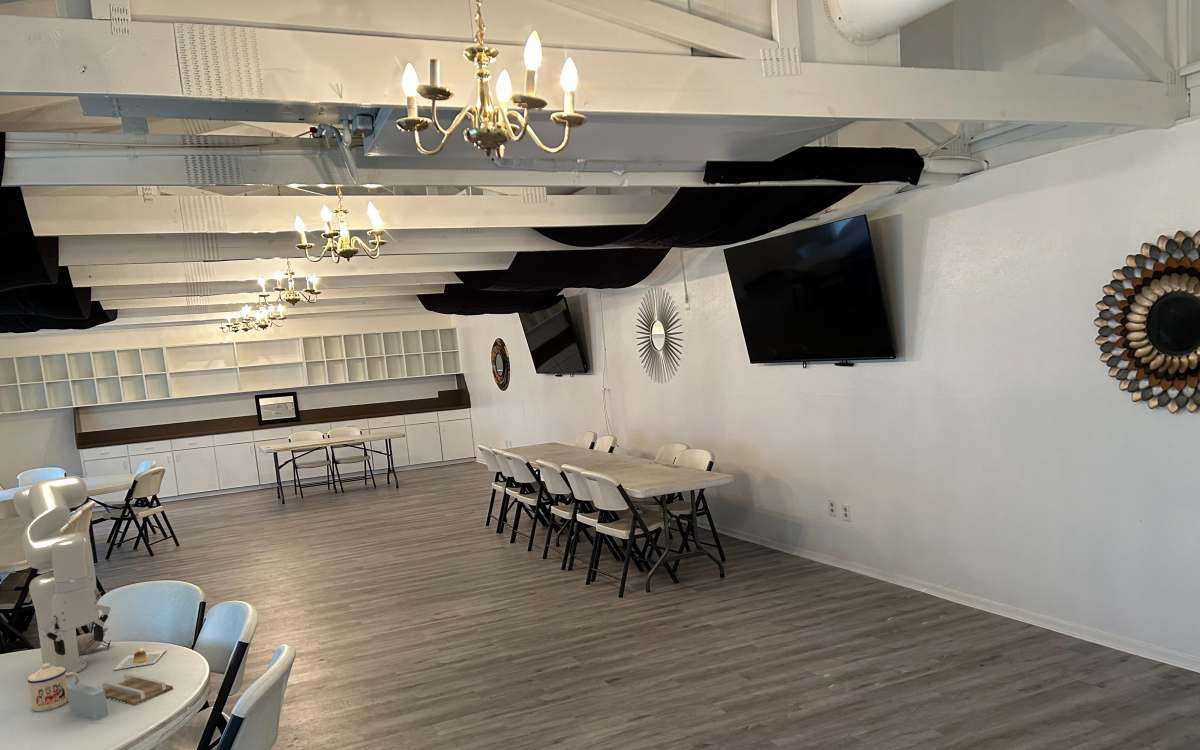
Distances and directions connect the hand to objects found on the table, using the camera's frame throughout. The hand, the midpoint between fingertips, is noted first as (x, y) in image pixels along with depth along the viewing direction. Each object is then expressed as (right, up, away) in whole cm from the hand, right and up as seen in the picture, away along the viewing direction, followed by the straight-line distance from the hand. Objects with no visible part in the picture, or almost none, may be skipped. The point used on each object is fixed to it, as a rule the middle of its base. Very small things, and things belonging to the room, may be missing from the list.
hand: (80, 647), depth 224 cm
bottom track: (+7, -17, +13) cm, 23 cm away
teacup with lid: (-14, -20, +11) cm, 26 cm away
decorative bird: (-32, -20, +53) cm, 64 cm away
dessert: (-6, -18, +40) cm, 44 cm away
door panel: (+2, -18, +1) cm, 19 cm away
